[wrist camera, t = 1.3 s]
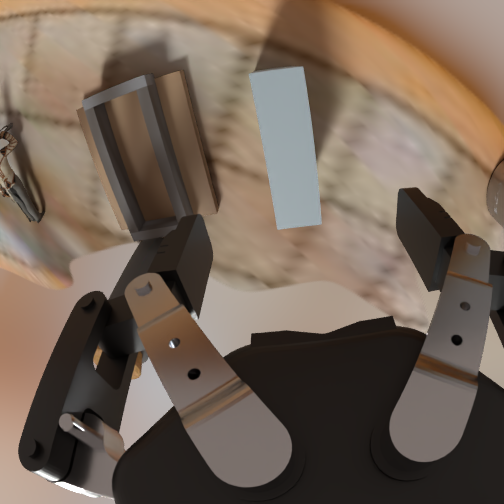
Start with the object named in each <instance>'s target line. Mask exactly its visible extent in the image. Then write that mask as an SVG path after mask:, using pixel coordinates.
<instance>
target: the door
mask: <svg viewBox="0 0 504 504" xmlns="http://www.w3.org/2000/svg"><path fill="white" fill-rule="evenodd" d="M249 77H250V82H251V87H252V92H253V97H254V102H255V107H256V112H257V117H258V123H259V128H260V133H261V138H262V144H263V149H264V155H265V160H266V166H267V171H268V177H269V182H270V188H271V194H272V200H273V206H274V212H275V218H276V224H277V230H279V229H287V228H295V227H303V226H311V225H320V224H322V223H321V209H320V197H319V185H318V175H317V165H316V155H315V146H314V138H313V130H312V122H311V115H310V107H309V100H308V94H307V87H306V81H305V75H304V69H303V66H287V67H279V68H271V69H264V70H258V71H254V72H251V73H249Z"/></svg>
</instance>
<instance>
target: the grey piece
mask: <svg viewBox="0 0 504 504" xmlns="http://www.w3.org/2000/svg"><path fill="white" fill-rule="evenodd" d="M82 104H83V107H82V108H80V109H78V110H77V114H78V117H79V120H80V123H81V126H82V129H83V133H84V136H85V138H86V141H87V144H88V147H89V150H90V153H91V156H92V158H93V161H94V164H95V167H96V169H97V172H98V174H99V177H100V180H101V182H102V185H103V187H104V190H105V192H106V195H107V197H108V200H109V202H110V204H111V207H112V209H113V211H114V214H115V216H116V218H117V221H118V223H119V225H120V227H121V230H125V229H129V231H130V233H131V236H132V238H133V240H134V241H140V240H146V239H153V238H159V237H165V236H166V235H167V234H168V233H169V232H171V231H172V230H176V228H177V225H178V223H179V221H180V219H181V217H183V216H188V215H194V214H201V215H202V216H206V215H212V214H217V212H218V209H219V207H218V203H217V199H216V196H215V192H214V188H213V184H212V181H211V177H210V173H209V169H208V166H207V162H206V158H205V154H204V150H203V146H202V143H201V139H200V135H199V131H198V127H197V123H196V119H195V115H194V111H193V107H192V103H191V99H190V95H189V91H188V87H187V83H186V79H185V75H184V71H183V70H181V71H177V72H173V73H170V74H167V75H164V76H160V77H157V78H154V75H153V73H152V74H146V75H142V76H139V77H137V78H134V79H131V80H129V81H126V82H124V83H121V84H119V85H116V86H114V87H111V88H109V89H107V90H104V91H102V92H100V93H98V94H95V95H93V96H91V97H89V98H87V99H85V100H82Z"/></svg>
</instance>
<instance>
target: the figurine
mask: <svg viewBox="0 0 504 504" xmlns="http://www.w3.org/2000/svg"><path fill="white" fill-rule="evenodd" d="M12 125H13V124H12V123H10V124H9V125H8V126H4V127H3V128H5V127H7V128H6V129H5V130H4V131H2V132H1V133H0V139H2V138H3V139H5V140H7V141H8V142H9V144H8V145H7V146H5V147H4V148H2V149H1V150H0V192H1V193H2V195H3V197H5V196H6V197H11V199H12V201H13V202H15V201H16V202H17V204H18V205H19V204H20V205H19V207H20V208H21V207H22V208H21V210H22V211H23V212H24V214H25V215H26V214H27V215H28V216H29V217H28V216H27V215H26V216H27V218H28V219H29V221H30V222H31V220H32V221H37V222H38V223H39V222H40V221H41V219H42V217H43V215H44V213H45V211H43V212H42V213H39V212H38V211H37V210H36V208H35V206H34V204H33V203H32V202H31V200H30V198H29V196H28V194H27V192H26V190H25V188H24V186H23V184H22V182H21V180H20V179H19V177H18V176H17V175H16V174H15V173H14V171H13V170H12V169H11V167H10V165H9V163H8V160H7V155H8V154H9V153H10V152H11V151H12V150H13V149H14V148H15V147H16V145H17V144H18V142H17V140H16V139H15V138H14V137H13V136H12V135H10V134H9V132H7V131H8V130H9V129H10V128H11V127H12ZM3 128H2V129H3ZM2 129H1V130H2ZM1 130H0V131H1ZM30 219H31V220H30Z"/></svg>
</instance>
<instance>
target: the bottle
mask: <svg viewBox="0 0 504 504" xmlns="http://www.w3.org/2000/svg"><path fill="white" fill-rule="evenodd" d="M163 239H164V238H160V237H159V238H153V239H146V240H143V241H142V242H141V243H140V244H139V245H138V247H137V249H136V250H135V252H134V254H133V255H132V257H131V259H130V260H129V262H128V264H127V266H126V268H125V269H124V271H123V273H122V275H121V277H120V279H119V281H118V282H117V284H116V286H115V288H114V290H113V292H112V294H111V296H110V298H109V300H110V299H113V298H116V297H119V296H122V295H125V289H126V287H127V286H128V284H129V283H130V282H131V281H132V280H134V279H135V278H137V277H138V276H140V275H143V274H146V273H147V271H148V269H149V267H150V265H151V263H152V261H153V259H154V257H155V255H156V254H157V251H158V249H159V247H160V245H161V243H162V241H163ZM101 353H102V350H101V348H100V347H99V346H98V347H97V349H96V352H95V355H94V358H93V362H94V363H95V364H96V365H98V362H99V359H100V356H101ZM148 357H149V356H148V354H147V352H146V350H143V351H139V352H138V355H137V359H136V363H135V367H134V370H133V374H132V378H131V379H136V378H138V377H139V376H140V375H141V367H142V366H141V365H142V363H144V362H146V361H147V359H148Z"/></svg>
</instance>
